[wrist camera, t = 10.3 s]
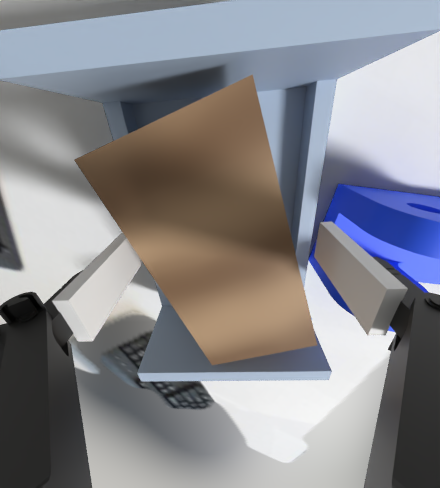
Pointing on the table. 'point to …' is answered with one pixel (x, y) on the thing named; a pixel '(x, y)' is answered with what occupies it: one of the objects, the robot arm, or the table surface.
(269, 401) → the table surface
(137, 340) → the table surface
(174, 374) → the frame
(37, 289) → the table surface
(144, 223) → the brown wooden block
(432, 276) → the bracket
